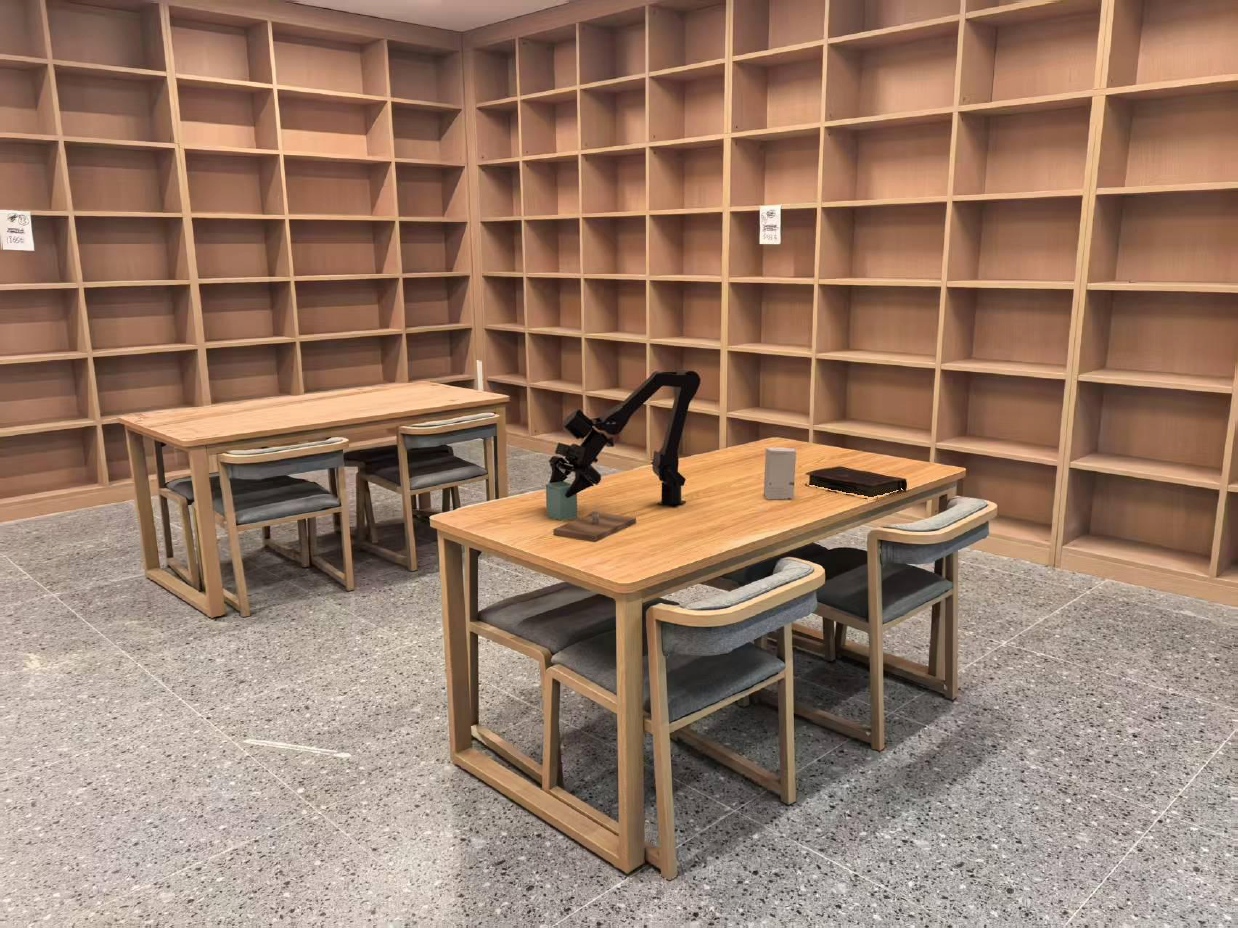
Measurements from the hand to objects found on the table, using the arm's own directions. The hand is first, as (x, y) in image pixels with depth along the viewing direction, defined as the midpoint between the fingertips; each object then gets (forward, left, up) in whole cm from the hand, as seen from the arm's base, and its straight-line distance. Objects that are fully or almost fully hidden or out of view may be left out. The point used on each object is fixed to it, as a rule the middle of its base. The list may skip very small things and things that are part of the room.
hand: (557, 493), depth 255 cm
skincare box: (-51, +45, -7) cm, 68 cm away
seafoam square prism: (-1, +1, -7) cm, 7 cm away
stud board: (+5, +16, -7) cm, 18 cm away
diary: (-73, +61, -7) cm, 95 cm away
